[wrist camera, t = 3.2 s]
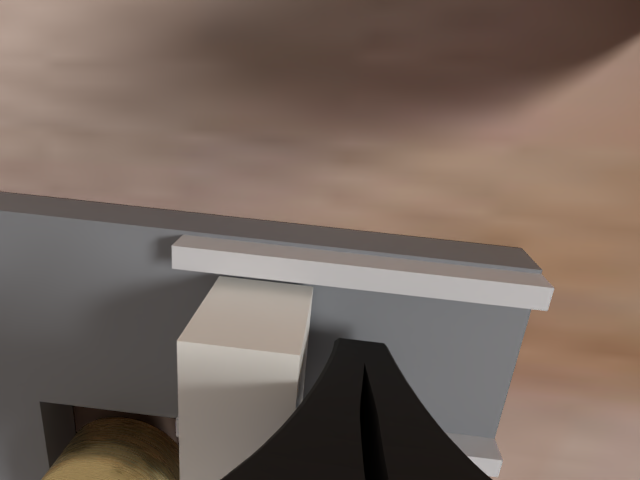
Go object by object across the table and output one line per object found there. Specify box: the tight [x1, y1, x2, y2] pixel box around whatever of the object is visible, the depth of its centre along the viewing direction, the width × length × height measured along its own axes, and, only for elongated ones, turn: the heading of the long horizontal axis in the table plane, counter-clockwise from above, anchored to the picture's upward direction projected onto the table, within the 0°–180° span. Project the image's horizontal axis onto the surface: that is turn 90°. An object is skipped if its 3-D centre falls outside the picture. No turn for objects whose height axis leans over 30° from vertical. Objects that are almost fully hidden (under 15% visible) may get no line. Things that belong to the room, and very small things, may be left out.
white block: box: [177, 276, 313, 480], centre depth 11 cm, size 4×2×3 cm, turn 175°
